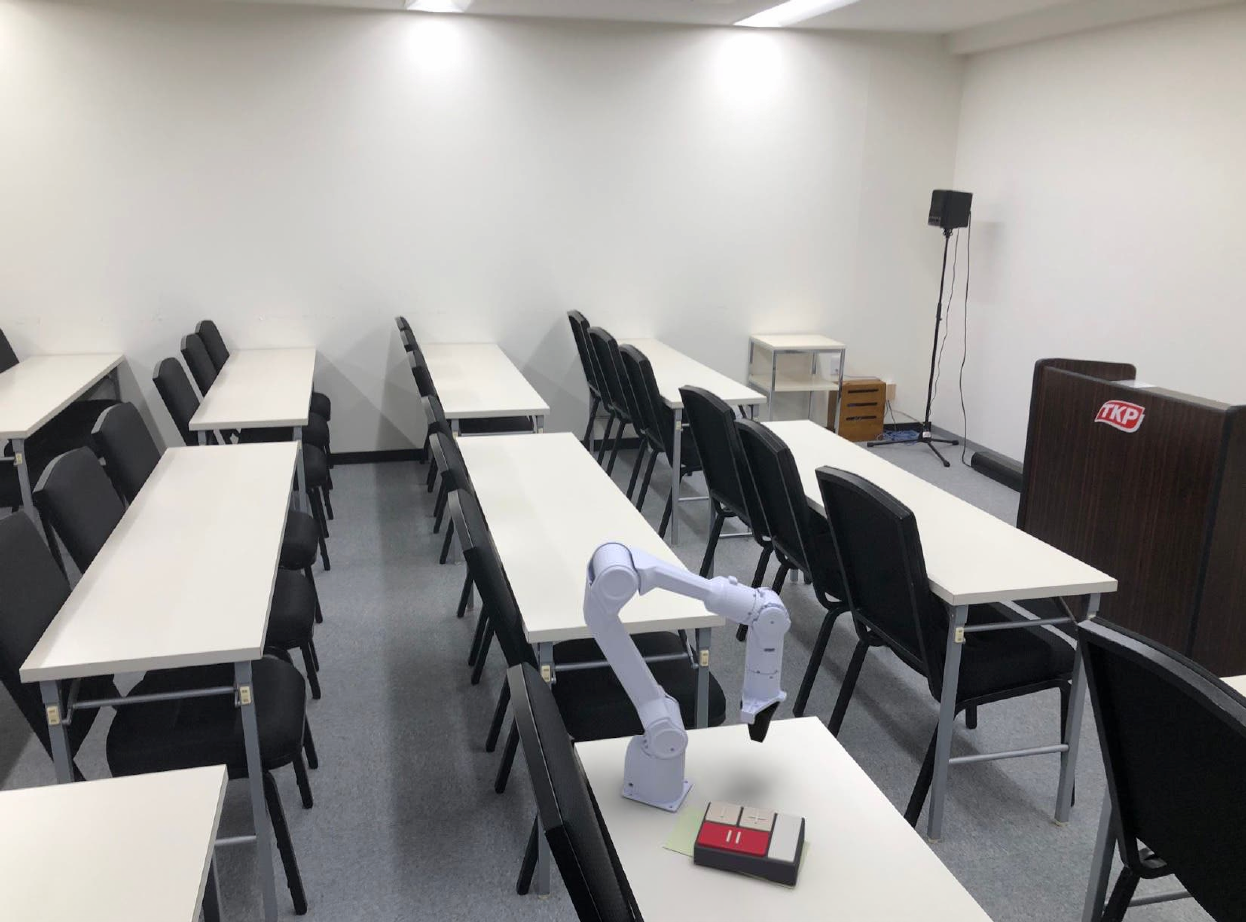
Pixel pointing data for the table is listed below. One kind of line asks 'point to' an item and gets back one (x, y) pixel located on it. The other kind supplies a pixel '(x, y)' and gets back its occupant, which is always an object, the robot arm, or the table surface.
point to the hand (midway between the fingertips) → (757, 739)
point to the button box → (751, 841)
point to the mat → (688, 831)
